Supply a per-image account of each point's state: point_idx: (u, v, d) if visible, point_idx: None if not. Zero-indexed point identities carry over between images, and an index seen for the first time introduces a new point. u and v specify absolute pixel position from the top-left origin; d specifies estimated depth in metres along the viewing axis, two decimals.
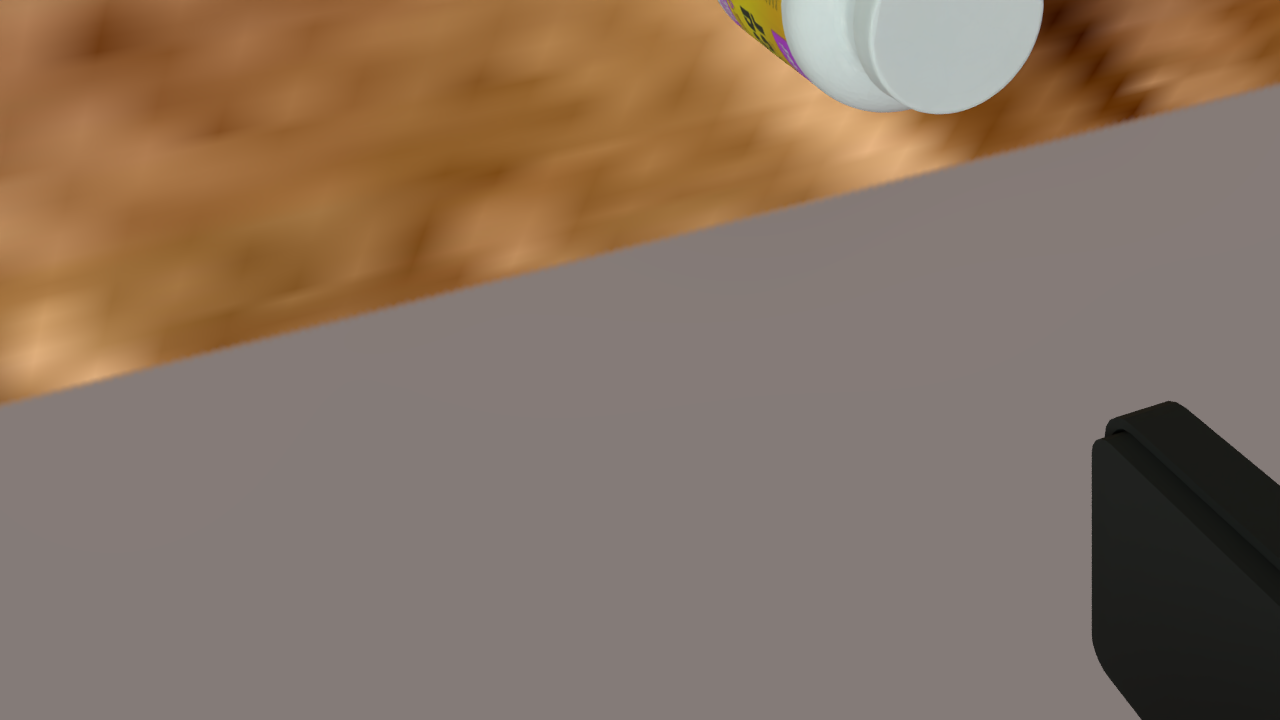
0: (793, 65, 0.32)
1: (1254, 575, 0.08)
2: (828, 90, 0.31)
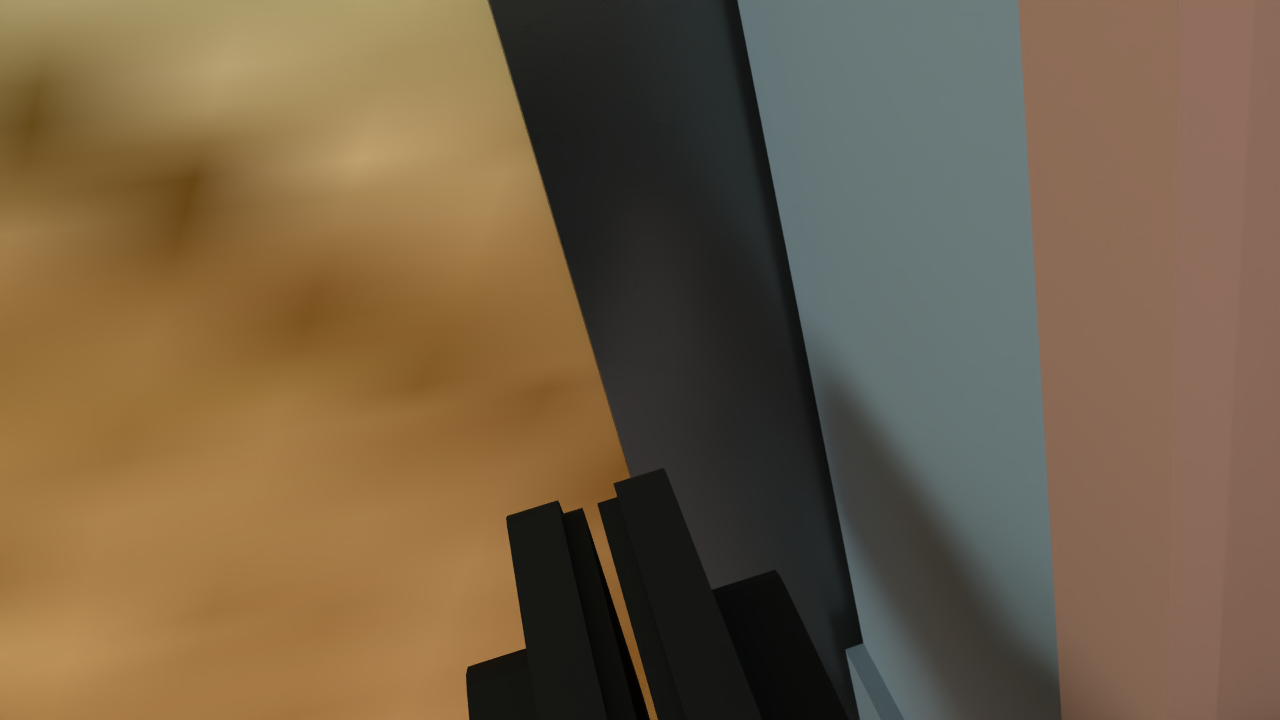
0: None
1: (643, 639, 0.09)
2: None
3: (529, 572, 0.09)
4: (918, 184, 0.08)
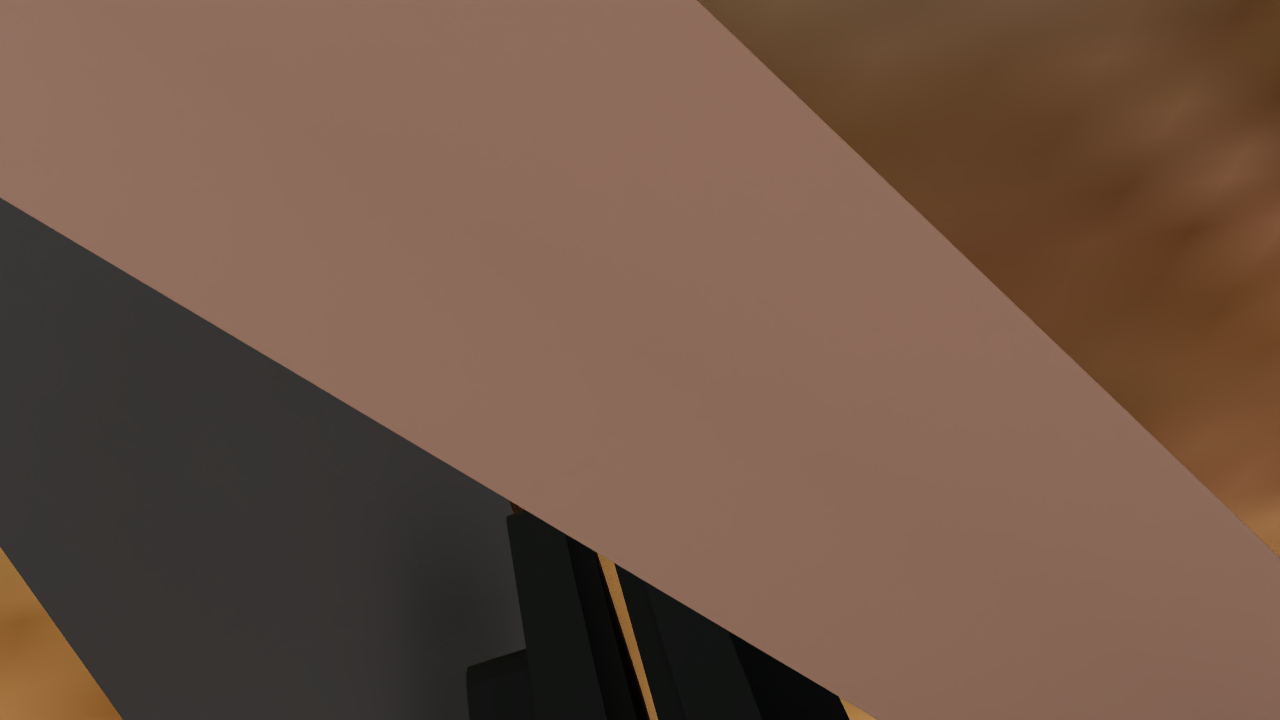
0: None
1: (643, 639, 0.09)
2: None
3: (529, 572, 0.09)
4: None
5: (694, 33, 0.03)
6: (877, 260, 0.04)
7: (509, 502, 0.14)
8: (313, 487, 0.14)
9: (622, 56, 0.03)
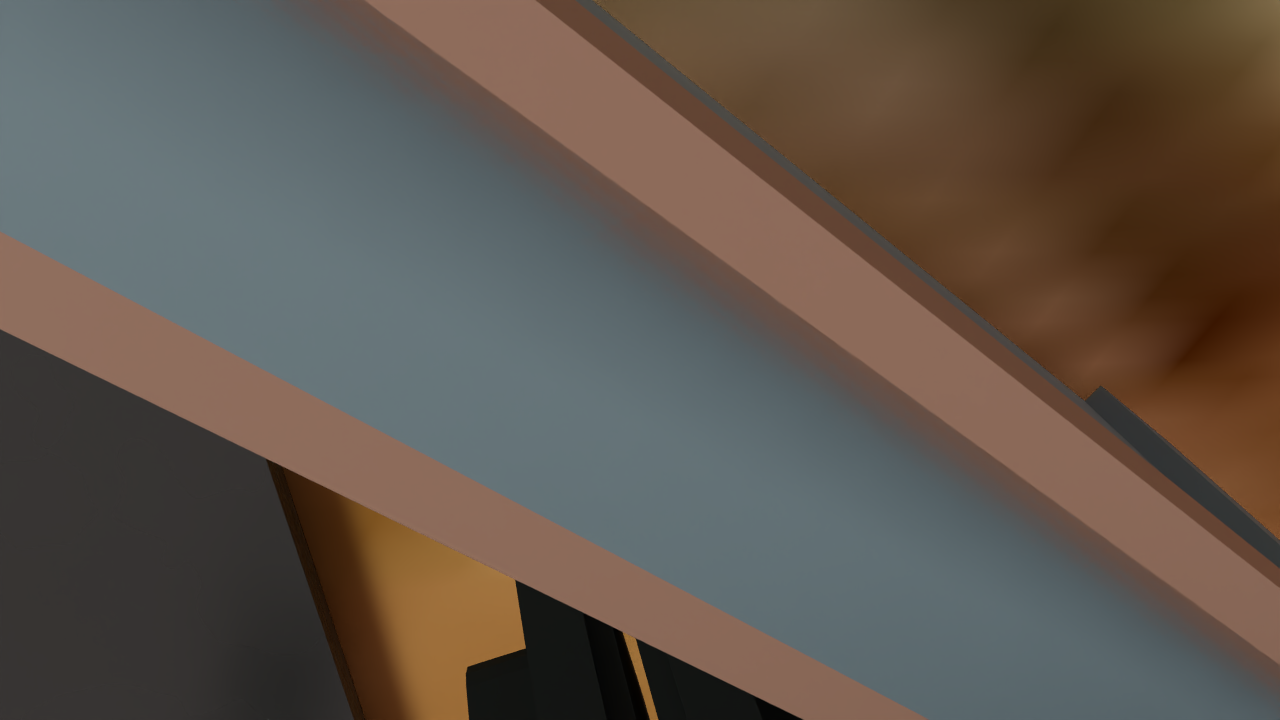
0: None
1: None
2: None
3: None
4: None
5: None
6: (682, 203, 0.04)
7: (303, 569, 0.14)
8: (96, 538, 0.13)
9: None
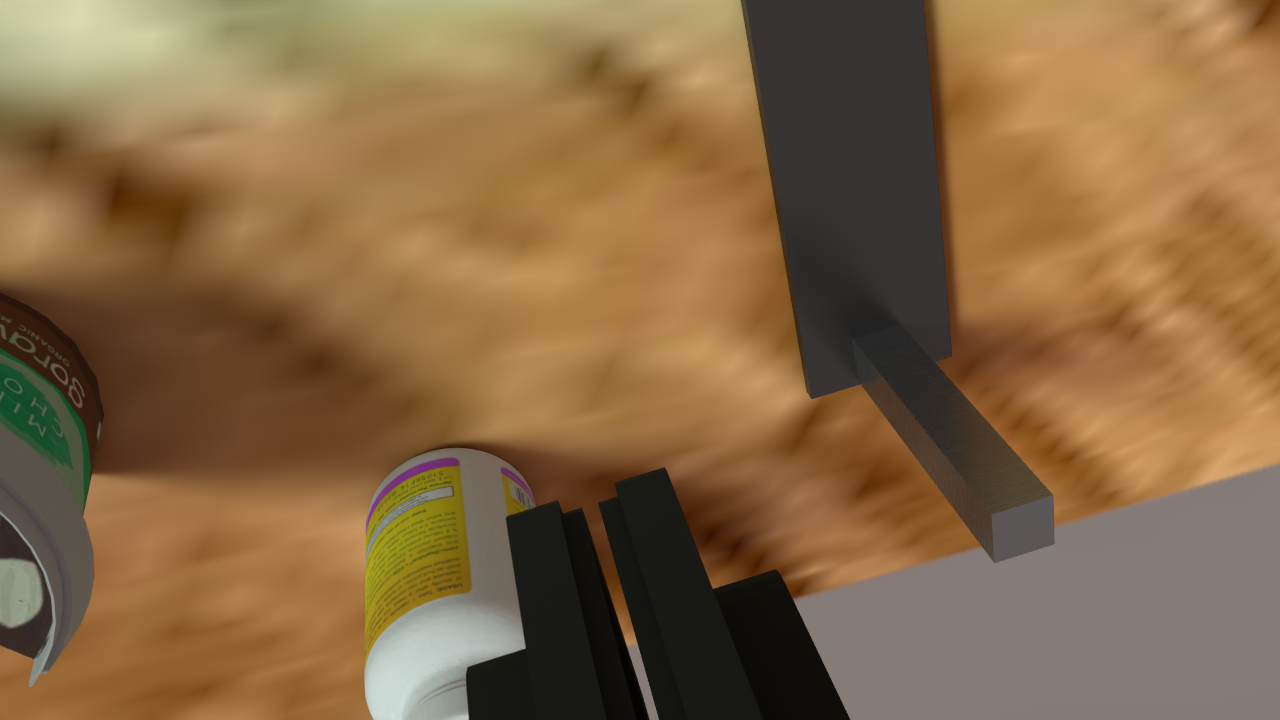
0: None
1: (644, 638, 0.09)
2: None
3: (528, 572, 0.09)
4: None
5: None
6: None
7: (933, 127, 0.39)
8: (870, 114, 0.38)
9: None
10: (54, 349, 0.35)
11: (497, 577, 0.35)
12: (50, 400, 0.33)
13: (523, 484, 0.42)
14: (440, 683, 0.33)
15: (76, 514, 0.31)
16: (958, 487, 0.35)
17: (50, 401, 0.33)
